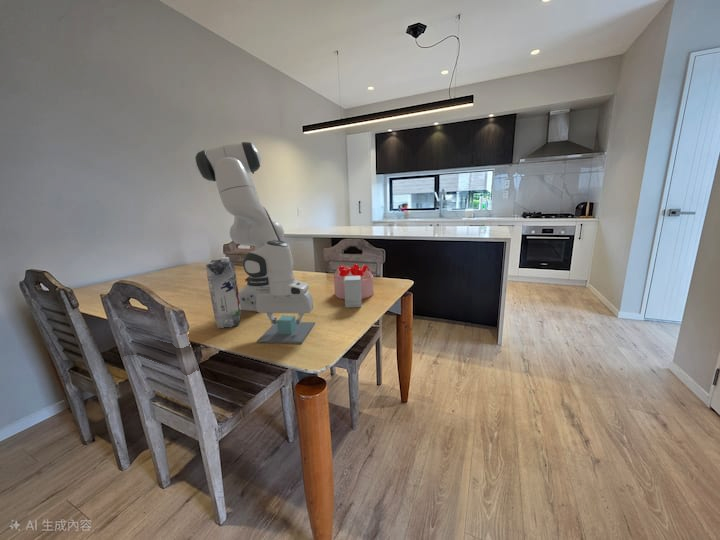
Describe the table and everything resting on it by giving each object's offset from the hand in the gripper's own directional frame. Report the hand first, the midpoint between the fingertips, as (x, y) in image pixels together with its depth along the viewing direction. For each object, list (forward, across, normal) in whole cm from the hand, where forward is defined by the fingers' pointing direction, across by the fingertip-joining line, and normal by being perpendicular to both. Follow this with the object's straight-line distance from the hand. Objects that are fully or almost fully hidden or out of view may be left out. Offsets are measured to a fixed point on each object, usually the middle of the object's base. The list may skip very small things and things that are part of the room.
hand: (286, 323), depth 103 cm
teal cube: (+3, 0, 0) cm, 3 cm away
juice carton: (+4, -27, +7) cm, 28 cm away
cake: (+4, +18, +44) cm, 48 cm away
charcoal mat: (+4, 0, 0) cm, 4 cm away
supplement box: (+4, +20, +29) cm, 35 cm away
